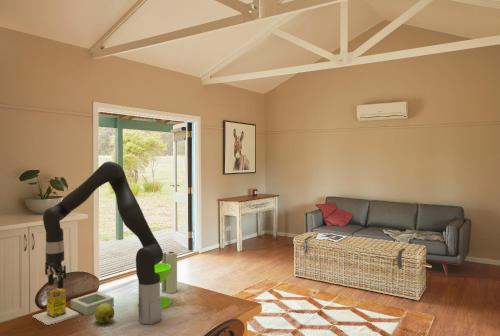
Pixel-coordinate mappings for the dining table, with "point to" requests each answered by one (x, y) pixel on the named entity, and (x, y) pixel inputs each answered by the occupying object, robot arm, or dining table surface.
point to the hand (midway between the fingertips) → (55, 286)
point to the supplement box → (56, 302)
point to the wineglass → (163, 272)
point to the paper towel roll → (171, 280)
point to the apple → (104, 313)
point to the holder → (84, 302)
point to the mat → (49, 320)
